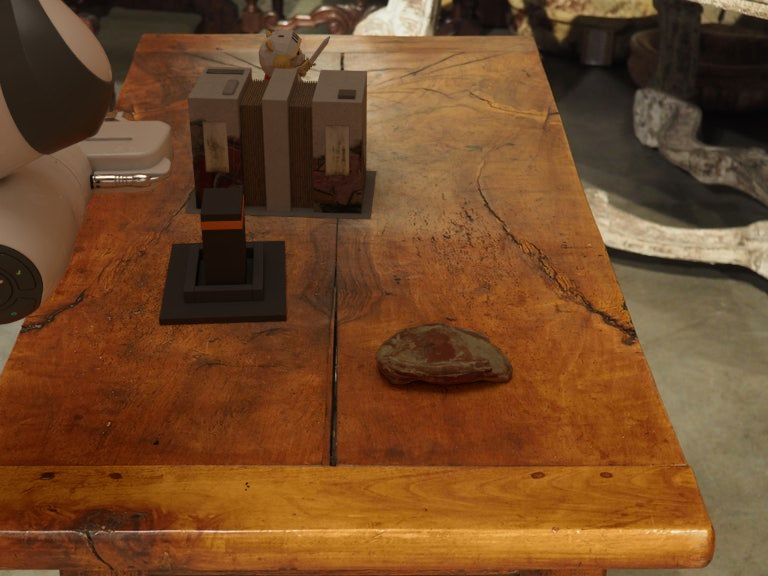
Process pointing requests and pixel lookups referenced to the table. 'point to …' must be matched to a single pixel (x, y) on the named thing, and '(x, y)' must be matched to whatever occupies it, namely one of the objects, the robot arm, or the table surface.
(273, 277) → the base pad
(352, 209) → the bookend
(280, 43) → the figurine
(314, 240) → the table surface
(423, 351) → the stone
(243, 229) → the black orange striped block
